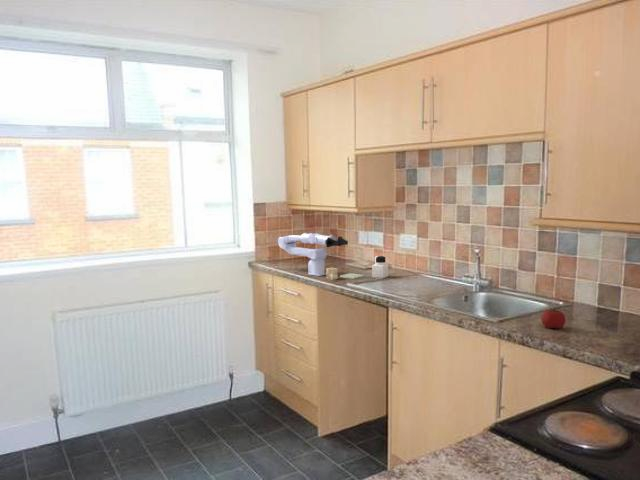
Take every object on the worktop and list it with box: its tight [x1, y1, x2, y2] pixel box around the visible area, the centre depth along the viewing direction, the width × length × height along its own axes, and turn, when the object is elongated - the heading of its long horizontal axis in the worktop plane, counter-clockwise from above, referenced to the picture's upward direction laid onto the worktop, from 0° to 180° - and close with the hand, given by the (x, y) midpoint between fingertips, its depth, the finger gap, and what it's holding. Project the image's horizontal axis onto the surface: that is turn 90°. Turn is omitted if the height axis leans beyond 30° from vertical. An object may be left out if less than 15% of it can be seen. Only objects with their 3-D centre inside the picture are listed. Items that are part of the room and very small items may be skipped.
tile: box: [339, 273, 365, 280], centre depth 292 cm, size 10×10×1 cm
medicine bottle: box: [371, 255, 389, 279], centre depth 290 cm, size 7×7×12 cm
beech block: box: [325, 267, 339, 281], centre depth 286 cm, size 4×4×6 cm
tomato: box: [540, 308, 566, 330], centre depth 185 cm, size 8×8×7 cm
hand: (342, 243), depth 284 cm, fingers open, 7 cm apart
